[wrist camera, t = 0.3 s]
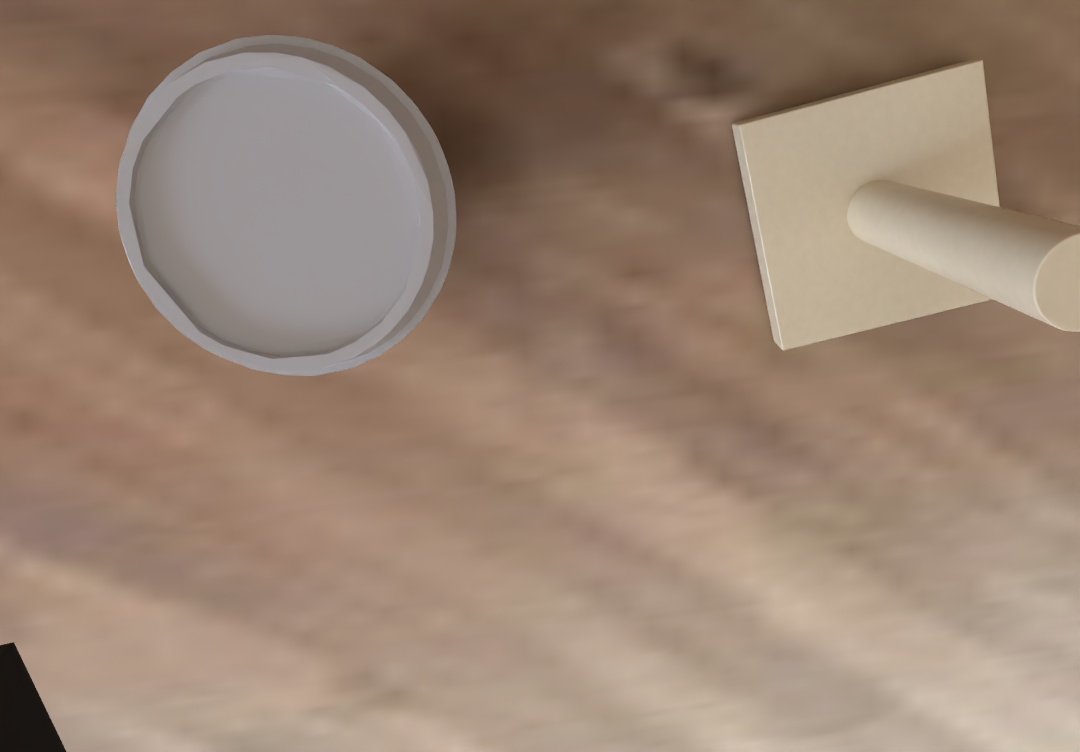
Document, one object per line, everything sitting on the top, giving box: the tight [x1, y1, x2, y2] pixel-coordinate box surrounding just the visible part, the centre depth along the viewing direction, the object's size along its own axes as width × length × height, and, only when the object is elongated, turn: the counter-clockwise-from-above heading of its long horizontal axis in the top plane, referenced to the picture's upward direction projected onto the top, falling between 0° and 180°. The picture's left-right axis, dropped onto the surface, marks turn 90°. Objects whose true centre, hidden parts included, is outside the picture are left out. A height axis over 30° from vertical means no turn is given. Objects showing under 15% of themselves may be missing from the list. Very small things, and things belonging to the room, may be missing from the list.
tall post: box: [732, 60, 1080, 350], centre depth 29 cm, size 9×9×16 cm
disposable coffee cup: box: [116, 35, 456, 375], centre depth 30 cm, size 10×10×12 cm
